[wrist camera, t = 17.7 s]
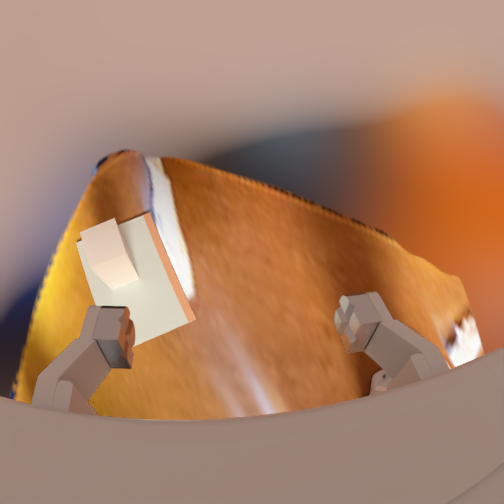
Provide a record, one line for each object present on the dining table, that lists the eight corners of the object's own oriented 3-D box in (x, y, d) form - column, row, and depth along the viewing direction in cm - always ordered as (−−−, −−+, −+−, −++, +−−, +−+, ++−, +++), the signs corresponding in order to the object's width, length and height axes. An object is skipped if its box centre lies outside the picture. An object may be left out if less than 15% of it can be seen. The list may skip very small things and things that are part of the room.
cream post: (129, 251, 42) (114, 217, 31) (139, 278, 41) (126, 252, 30) (102, 262, 41) (79, 232, 30) (112, 289, 40) (90, 267, 29)
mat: (150, 214, 45) (150, 212, 45) (195, 319, 42) (196, 318, 41) (77, 244, 41) (76, 242, 40) (116, 353, 38) (115, 353, 37)
